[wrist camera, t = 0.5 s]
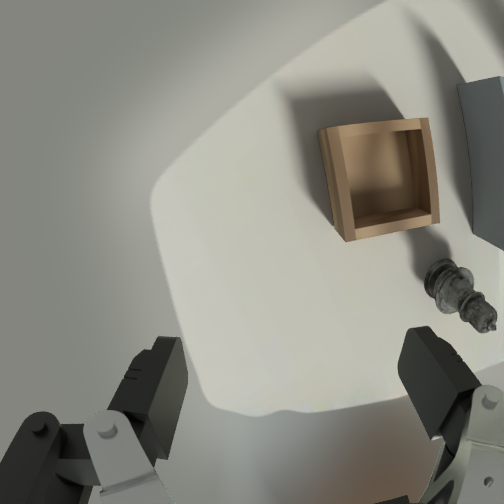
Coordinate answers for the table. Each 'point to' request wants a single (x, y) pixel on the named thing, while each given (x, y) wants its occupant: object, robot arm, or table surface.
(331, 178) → the socket block
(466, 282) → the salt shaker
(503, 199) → the backstop board
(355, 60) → the table surface
